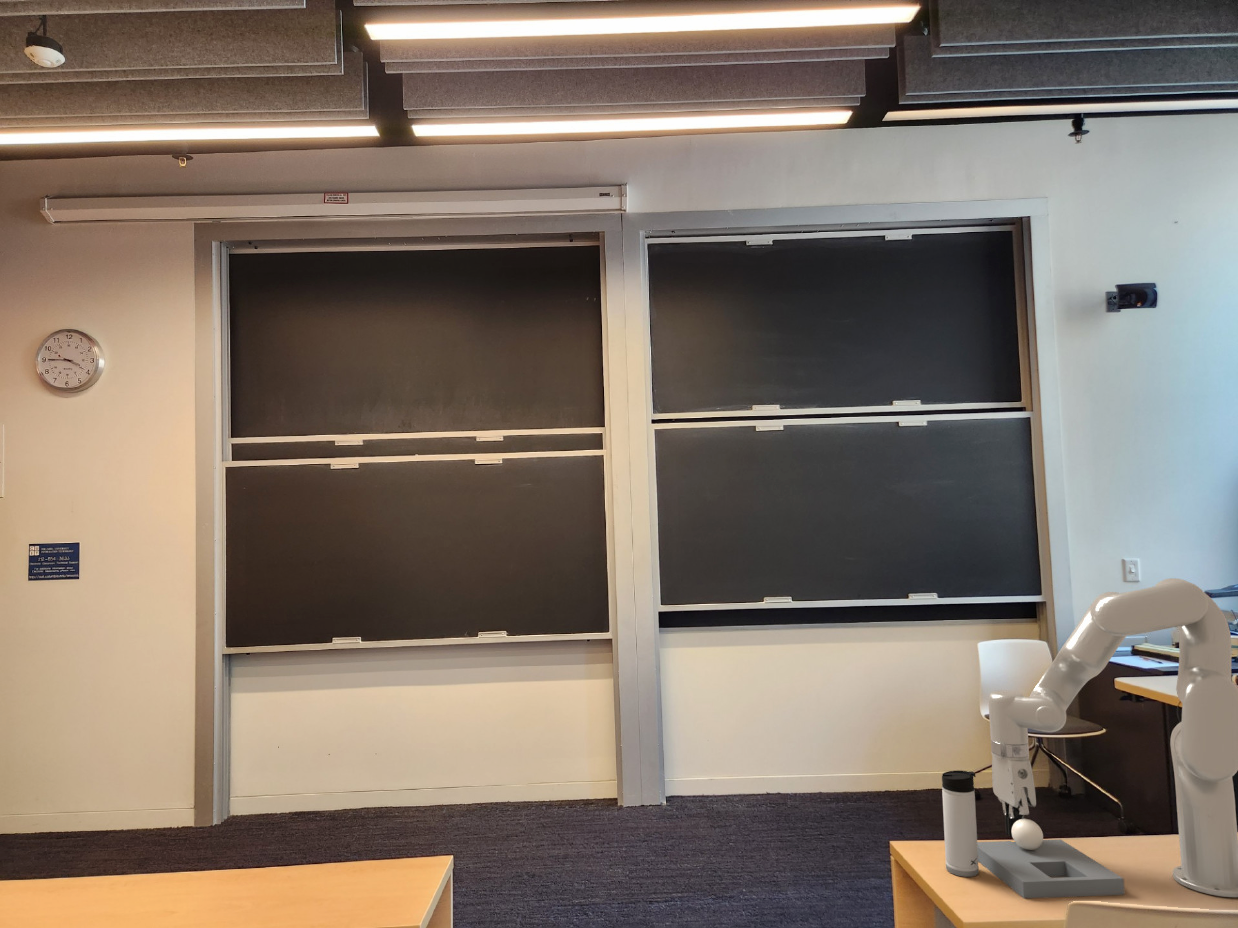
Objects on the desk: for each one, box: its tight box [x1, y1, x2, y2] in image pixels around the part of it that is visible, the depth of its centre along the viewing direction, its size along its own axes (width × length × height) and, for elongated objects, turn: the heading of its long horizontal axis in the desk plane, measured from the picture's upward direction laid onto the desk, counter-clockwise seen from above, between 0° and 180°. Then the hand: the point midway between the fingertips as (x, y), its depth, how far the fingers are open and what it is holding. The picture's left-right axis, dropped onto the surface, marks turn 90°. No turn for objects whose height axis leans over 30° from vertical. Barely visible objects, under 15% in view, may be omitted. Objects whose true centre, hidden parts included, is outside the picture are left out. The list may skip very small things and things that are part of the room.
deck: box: [977, 838, 1125, 899], centre depth 163 cm, size 20×20×3 cm
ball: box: [1011, 818, 1044, 850], centre depth 169 cm, size 6×6×6 cm
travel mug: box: [941, 769, 980, 878], centre depth 166 cm, size 6×7×20 cm
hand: (1014, 835), depth 173 cm, fingers closed
